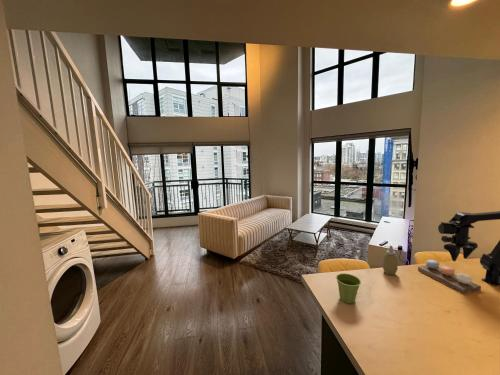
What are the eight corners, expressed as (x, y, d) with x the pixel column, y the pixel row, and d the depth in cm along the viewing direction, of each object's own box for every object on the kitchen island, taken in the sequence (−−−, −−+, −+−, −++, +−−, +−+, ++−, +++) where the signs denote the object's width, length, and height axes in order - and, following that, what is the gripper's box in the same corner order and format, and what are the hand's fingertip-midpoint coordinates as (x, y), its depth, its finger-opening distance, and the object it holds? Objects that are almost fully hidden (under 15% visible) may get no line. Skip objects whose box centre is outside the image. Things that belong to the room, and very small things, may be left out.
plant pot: (363, 308, 103) (364, 286, 102) (337, 305, 106) (338, 284, 104) (356, 293, 115) (357, 274, 114) (333, 291, 117) (333, 272, 116)
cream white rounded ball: (461, 282, 121) (462, 272, 120) (474, 288, 115) (475, 278, 114) (453, 283, 120) (454, 273, 119) (465, 289, 114) (466, 279, 113)
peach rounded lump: (445, 274, 129) (446, 265, 129) (456, 279, 123) (457, 270, 123) (437, 275, 128) (438, 266, 127) (448, 281, 122) (449, 271, 122)
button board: (433, 268, 139) (433, 264, 139) (480, 290, 115) (481, 286, 115) (417, 270, 137) (418, 266, 137) (463, 293, 113) (463, 289, 112)
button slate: (431, 267, 138) (431, 259, 137) (440, 272, 132) (441, 263, 131) (423, 268, 136) (424, 260, 136) (433, 273, 131) (433, 264, 130)
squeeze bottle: (396, 277, 129) (398, 249, 127) (381, 273, 134) (382, 246, 132) (397, 272, 136) (399, 245, 133) (382, 268, 140) (384, 242, 138)
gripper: (456, 228, 133) (454, 252, 135) (434, 232, 128) (432, 256, 130) (479, 234, 123) (477, 259, 124) (456, 238, 118) (454, 264, 120)
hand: (459, 259), depth 125 cm, fingers open, 9 cm apart
